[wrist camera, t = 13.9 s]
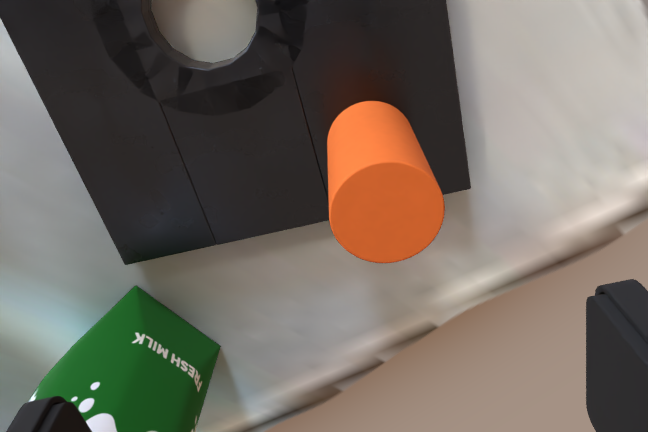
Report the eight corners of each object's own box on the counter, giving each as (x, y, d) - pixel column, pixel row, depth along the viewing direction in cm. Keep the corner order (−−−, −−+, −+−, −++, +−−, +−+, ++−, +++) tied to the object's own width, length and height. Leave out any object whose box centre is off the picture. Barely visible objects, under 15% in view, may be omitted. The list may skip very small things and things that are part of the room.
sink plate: (132, 252, 32) (124, 265, 31) (-30, -80, 24) (-51, -81, 23) (464, 177, 30) (471, 188, 28) (410, -216, 22) (416, -226, 20)
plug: (338, 190, 28) (343, 274, 21) (317, 112, 26) (316, 176, 19) (419, 171, 28) (452, 250, 21) (404, 90, 26) (435, 148, 19)
